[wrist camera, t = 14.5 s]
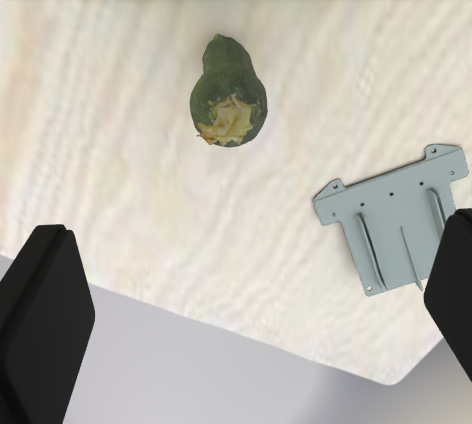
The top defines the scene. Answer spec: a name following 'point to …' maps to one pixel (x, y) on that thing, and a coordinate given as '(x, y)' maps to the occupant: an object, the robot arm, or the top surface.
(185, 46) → the top surface
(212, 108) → the vegetable
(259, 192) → the top surface
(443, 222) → the metal bracket
